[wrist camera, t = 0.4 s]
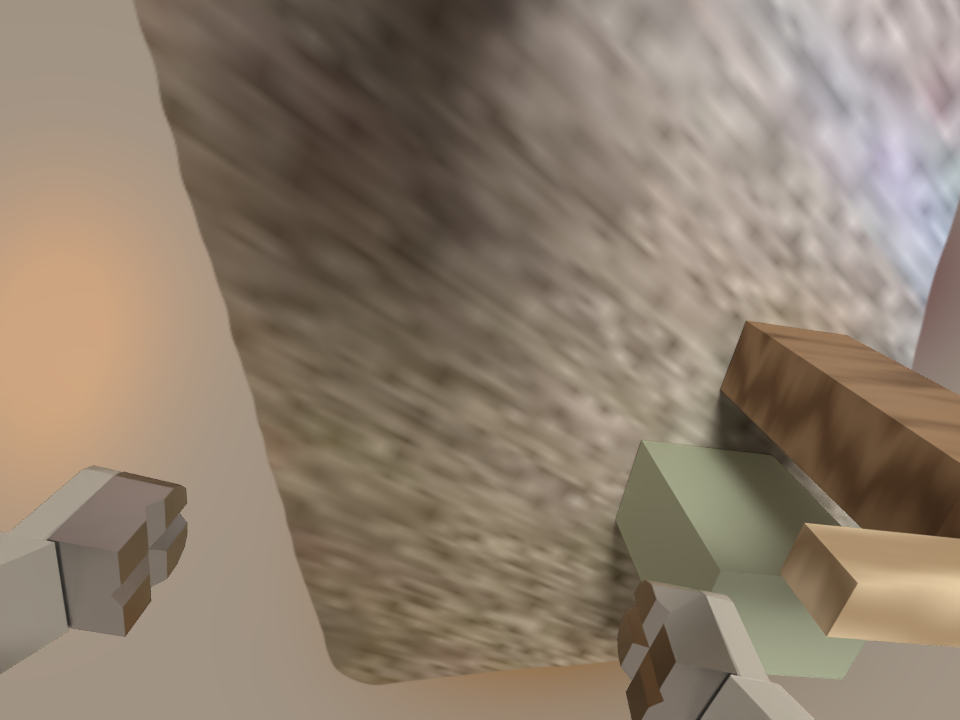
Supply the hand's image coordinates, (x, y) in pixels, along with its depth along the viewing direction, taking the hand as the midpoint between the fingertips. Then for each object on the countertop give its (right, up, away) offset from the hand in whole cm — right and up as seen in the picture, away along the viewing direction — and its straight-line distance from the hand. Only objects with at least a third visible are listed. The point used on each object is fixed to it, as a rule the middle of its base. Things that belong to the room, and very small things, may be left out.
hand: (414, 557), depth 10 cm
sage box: (+23, -10, +46) cm, 53 cm away
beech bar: (+26, -6, +16) cm, 31 cm away
